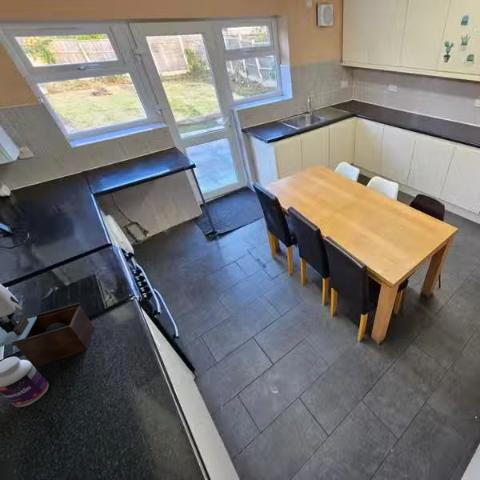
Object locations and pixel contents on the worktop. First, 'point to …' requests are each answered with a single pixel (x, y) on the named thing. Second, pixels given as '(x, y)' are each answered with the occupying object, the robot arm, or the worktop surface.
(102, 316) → the worktop surface
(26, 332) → the glass lid
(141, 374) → the worktop surface
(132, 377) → the worktop surface
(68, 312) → the display box
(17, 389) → the pill bottle
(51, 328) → the light bulb
